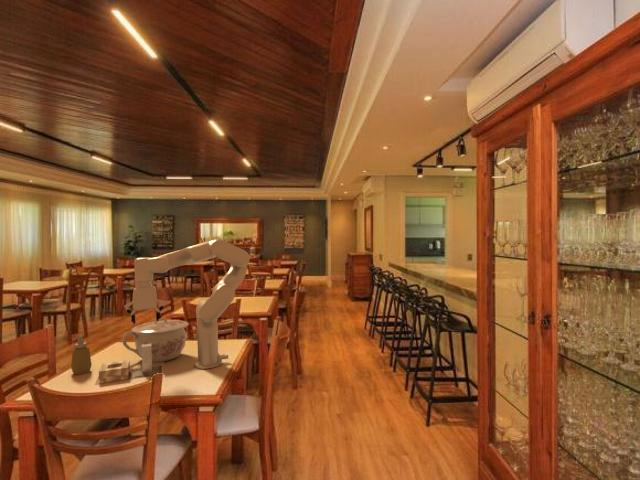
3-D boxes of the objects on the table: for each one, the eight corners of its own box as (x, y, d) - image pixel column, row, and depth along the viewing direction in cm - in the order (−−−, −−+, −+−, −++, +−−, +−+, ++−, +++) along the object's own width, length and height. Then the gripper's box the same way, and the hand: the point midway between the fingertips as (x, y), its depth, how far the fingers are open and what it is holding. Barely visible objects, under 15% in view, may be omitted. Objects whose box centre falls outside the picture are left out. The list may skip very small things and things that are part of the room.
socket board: (161, 367, 181) (161, 355, 181) (161, 376, 170) (161, 363, 169) (99, 376, 171) (98, 363, 171) (94, 387, 159) (94, 373, 159)
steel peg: (152, 369, 176) (151, 343, 176) (152, 372, 172) (151, 345, 172) (142, 370, 174) (142, 344, 174) (142, 373, 171) (141, 346, 170)
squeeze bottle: (88, 370, 181) (86, 332, 180) (94, 373, 176) (93, 335, 175) (68, 375, 175) (67, 336, 174) (75, 379, 169) (73, 339, 169)
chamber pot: (198, 350, 208) (197, 312, 208) (174, 367, 181) (173, 324, 180) (150, 350, 211) (148, 313, 210) (119, 367, 183) (117, 324, 183)
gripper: (164, 282, 179) (166, 318, 180) (123, 285, 173) (125, 322, 173) (165, 284, 173) (166, 321, 173) (122, 287, 166) (124, 326, 166)
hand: (146, 322), depth 173 cm, fingers open, 9 cm apart
